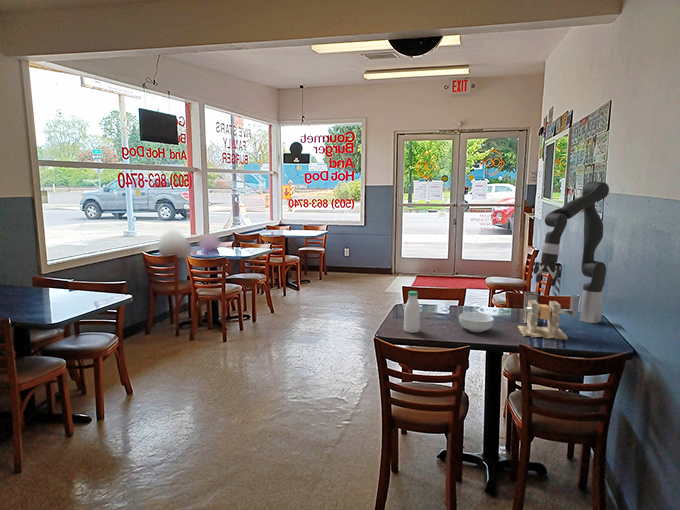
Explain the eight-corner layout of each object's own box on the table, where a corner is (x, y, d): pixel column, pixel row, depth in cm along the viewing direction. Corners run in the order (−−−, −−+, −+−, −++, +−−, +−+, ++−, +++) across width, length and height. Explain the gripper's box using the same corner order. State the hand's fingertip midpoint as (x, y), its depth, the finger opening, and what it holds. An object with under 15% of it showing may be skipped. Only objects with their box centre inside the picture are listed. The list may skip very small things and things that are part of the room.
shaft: (574, 314, 242) (576, 295, 240) (577, 317, 238) (579, 297, 236) (525, 312, 245) (526, 292, 244) (527, 314, 241) (528, 294, 239)
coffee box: (538, 325, 258) (540, 295, 256) (525, 324, 259) (527, 294, 257) (534, 320, 267) (537, 291, 264) (522, 319, 268) (524, 290, 266)
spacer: (545, 316, 245) (546, 304, 244) (548, 319, 239) (549, 307, 238) (537, 315, 245) (538, 304, 244) (540, 319, 239) (541, 307, 239)
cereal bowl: (455, 332, 243) (456, 318, 242) (460, 323, 259) (461, 310, 258) (491, 337, 237) (492, 322, 236) (494, 327, 252) (495, 314, 251)
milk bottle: (421, 332, 241) (423, 293, 238) (406, 333, 240) (407, 293, 237) (416, 328, 249) (418, 289, 246) (401, 328, 248) (403, 290, 245)
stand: (558, 330, 249) (561, 300, 246) (567, 339, 235) (570, 307, 233) (517, 328, 252) (520, 298, 249) (523, 336, 238) (526, 304, 235)
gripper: (567, 255, 243) (562, 287, 244) (542, 251, 255) (537, 281, 256) (558, 254, 239) (552, 287, 241) (533, 250, 251) (528, 281, 253)
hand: (545, 284), depth 249 cm, fingers open, 8 cm apart
